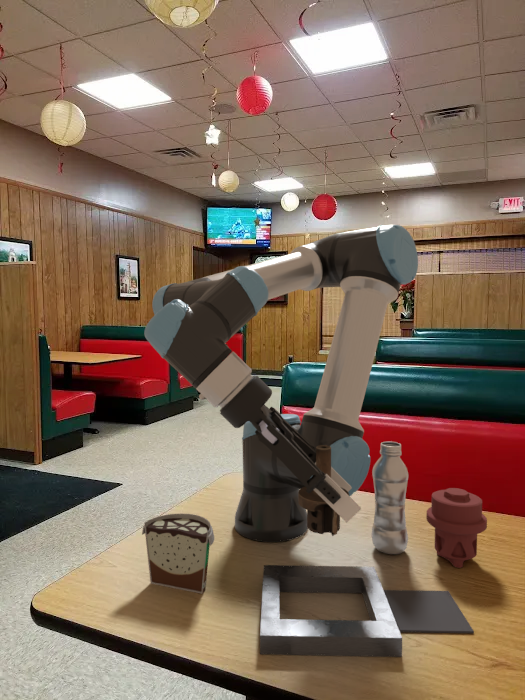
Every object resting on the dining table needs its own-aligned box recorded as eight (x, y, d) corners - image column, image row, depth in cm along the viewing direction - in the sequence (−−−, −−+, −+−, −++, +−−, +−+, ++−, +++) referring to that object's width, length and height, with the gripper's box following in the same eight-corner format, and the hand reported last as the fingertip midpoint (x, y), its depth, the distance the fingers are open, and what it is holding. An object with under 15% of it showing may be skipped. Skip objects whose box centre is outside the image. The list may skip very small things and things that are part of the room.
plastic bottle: (388, 562, 87) (390, 450, 85) (363, 546, 93) (365, 442, 91) (415, 554, 90) (417, 446, 88) (390, 539, 96) (391, 438, 94)
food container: (226, 576, 82) (226, 517, 81) (211, 595, 76) (210, 532, 76) (162, 564, 86) (161, 508, 85) (142, 581, 80) (141, 522, 80)
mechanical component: (478, 548, 92) (492, 576, 82) (422, 544, 94) (429, 570, 84) (480, 484, 91) (494, 504, 81) (423, 480, 93) (431, 499, 83)
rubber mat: (384, 591, 77) (384, 589, 77) (448, 592, 77) (448, 590, 77) (399, 632, 67) (400, 629, 67) (473, 633, 67) (473, 631, 67)
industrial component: (297, 517, 75) (297, 439, 74) (344, 517, 75) (345, 440, 74) (300, 545, 66) (300, 457, 65) (354, 546, 65) (355, 457, 65)
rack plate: (263, 579, 81) (263, 565, 81) (373, 581, 80) (374, 566, 80) (260, 654, 63) (260, 635, 63) (401, 656, 62) (402, 638, 62)
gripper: (224, 398, 80) (323, 495, 81) (207, 425, 60) (339, 555, 61) (257, 366, 80) (356, 464, 80) (250, 382, 59) (383, 513, 60)
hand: (348, 503), depth 70 cm, fingers closed on industrial component, 7 cm apart
